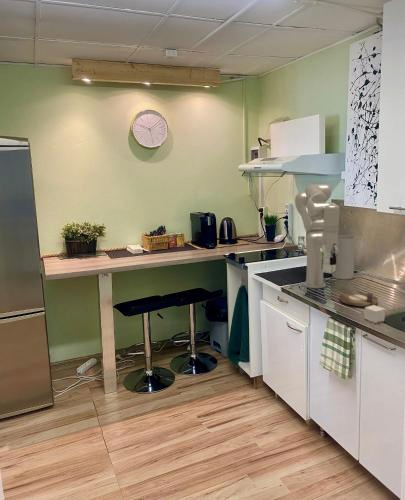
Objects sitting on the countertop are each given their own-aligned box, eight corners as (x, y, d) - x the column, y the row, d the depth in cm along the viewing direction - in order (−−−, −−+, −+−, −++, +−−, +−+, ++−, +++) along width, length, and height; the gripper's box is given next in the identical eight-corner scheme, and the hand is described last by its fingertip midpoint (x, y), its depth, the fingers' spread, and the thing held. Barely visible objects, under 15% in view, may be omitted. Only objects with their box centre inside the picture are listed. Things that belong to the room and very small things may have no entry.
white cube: (372, 317, 192) (373, 305, 191) (384, 321, 187) (385, 308, 186) (364, 319, 189) (364, 307, 188) (375, 324, 184) (376, 311, 183)
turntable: (357, 292, 224) (357, 282, 223) (385, 302, 208) (386, 291, 207) (332, 298, 216) (332, 288, 215) (359, 308, 200) (360, 297, 199)
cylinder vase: (327, 276, 260) (329, 236, 255) (343, 273, 265) (345, 234, 260) (342, 281, 249) (344, 240, 244) (357, 278, 254) (360, 237, 249)
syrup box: (325, 269, 221) (326, 242, 217) (336, 271, 217) (337, 244, 213) (320, 272, 216) (322, 244, 213) (331, 273, 213) (333, 246, 209)
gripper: (316, 226, 219) (315, 258, 223) (331, 232, 202) (330, 267, 206) (329, 225, 220) (328, 258, 224) (346, 231, 204) (344, 266, 208)
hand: (329, 262), depth 215 cm, fingers closed on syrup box, 7 cm apart
